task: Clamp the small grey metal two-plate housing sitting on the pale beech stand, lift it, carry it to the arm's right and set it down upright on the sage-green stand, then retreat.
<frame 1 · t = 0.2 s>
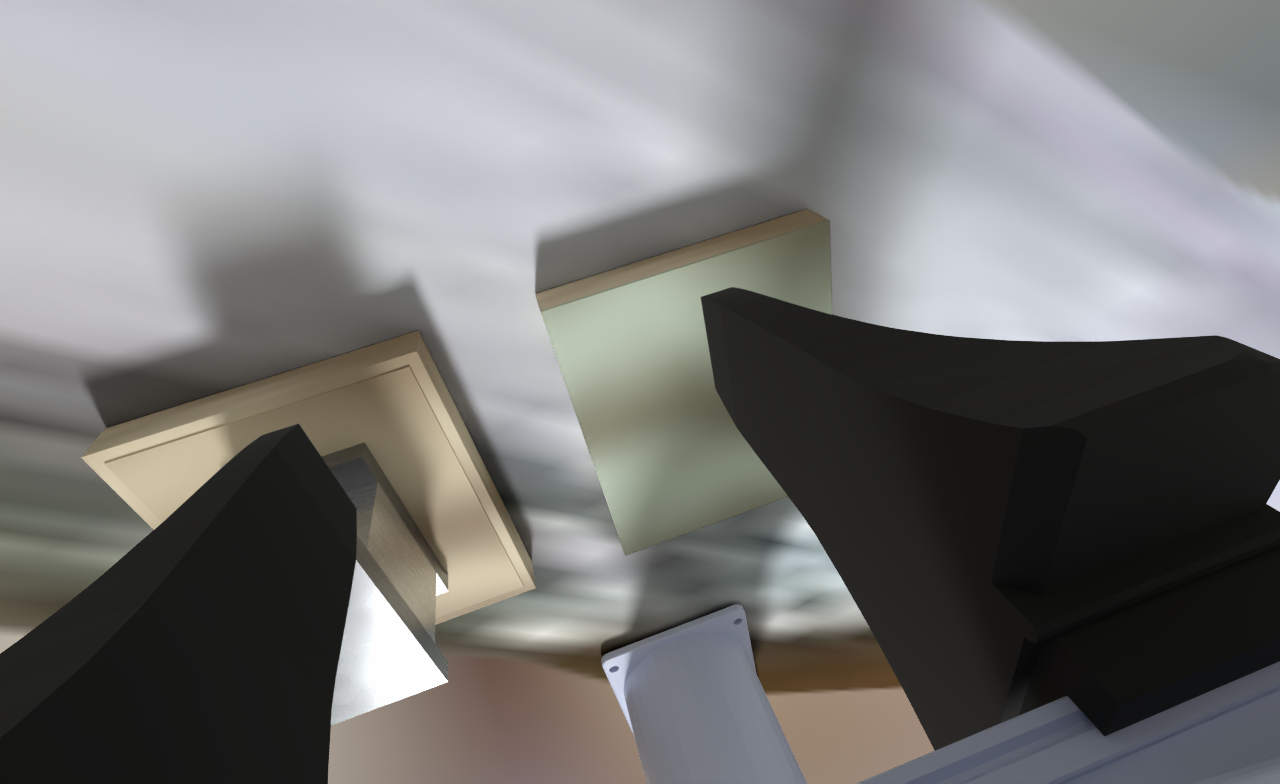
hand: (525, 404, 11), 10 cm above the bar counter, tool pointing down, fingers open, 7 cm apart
stand b: (700, 389, 24), on the bar counter
housing: (349, 535, 21), point 2 cm above the bar counter, touching stand a
stand a: (355, 506, 23), on the bar counter
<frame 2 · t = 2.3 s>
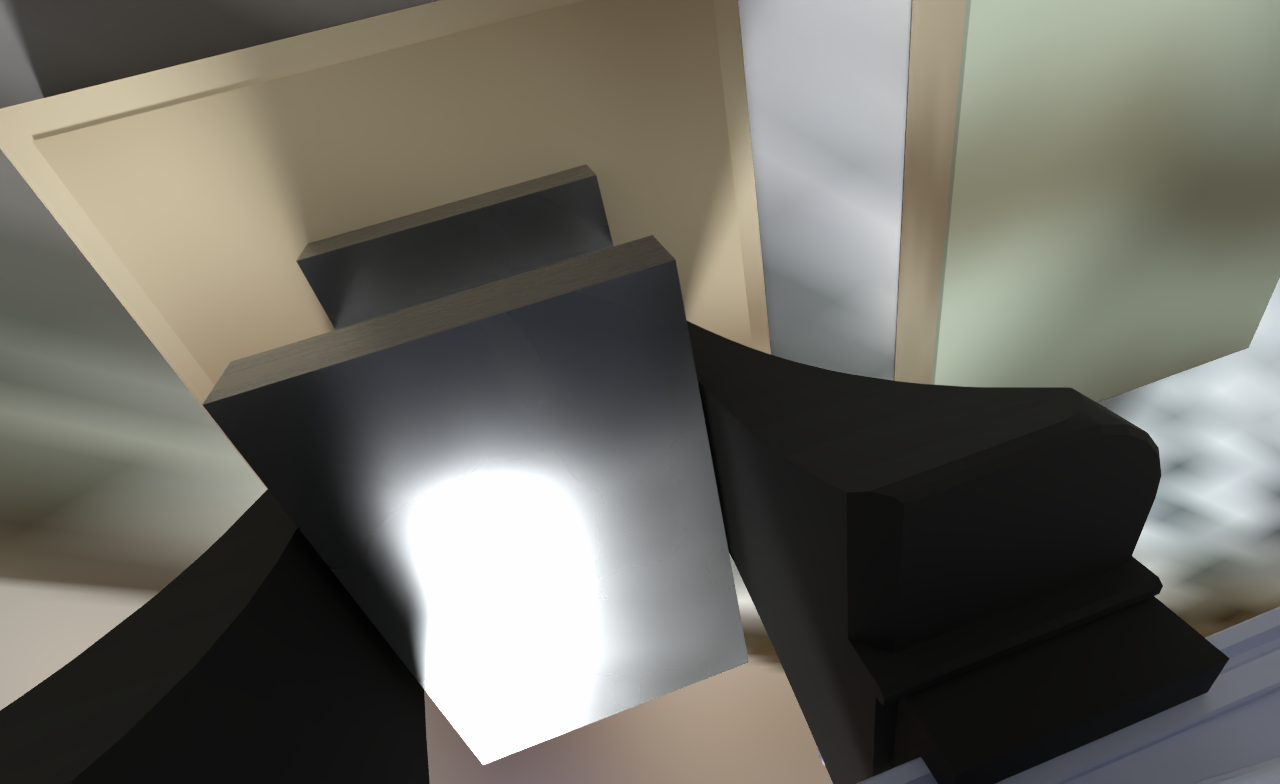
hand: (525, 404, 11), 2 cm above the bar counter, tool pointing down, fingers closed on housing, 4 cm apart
stand b: (1094, 166, 14), on the bar counter
housing: (521, 385, 11), point 2 cm above the bar counter, touching gripper, stand a
stand a: (514, 348, 12), on the bar counter
when the fingers open (3 cm above the bar counter, at t = 7.0 s): housing stays where it is, resting on stand b.
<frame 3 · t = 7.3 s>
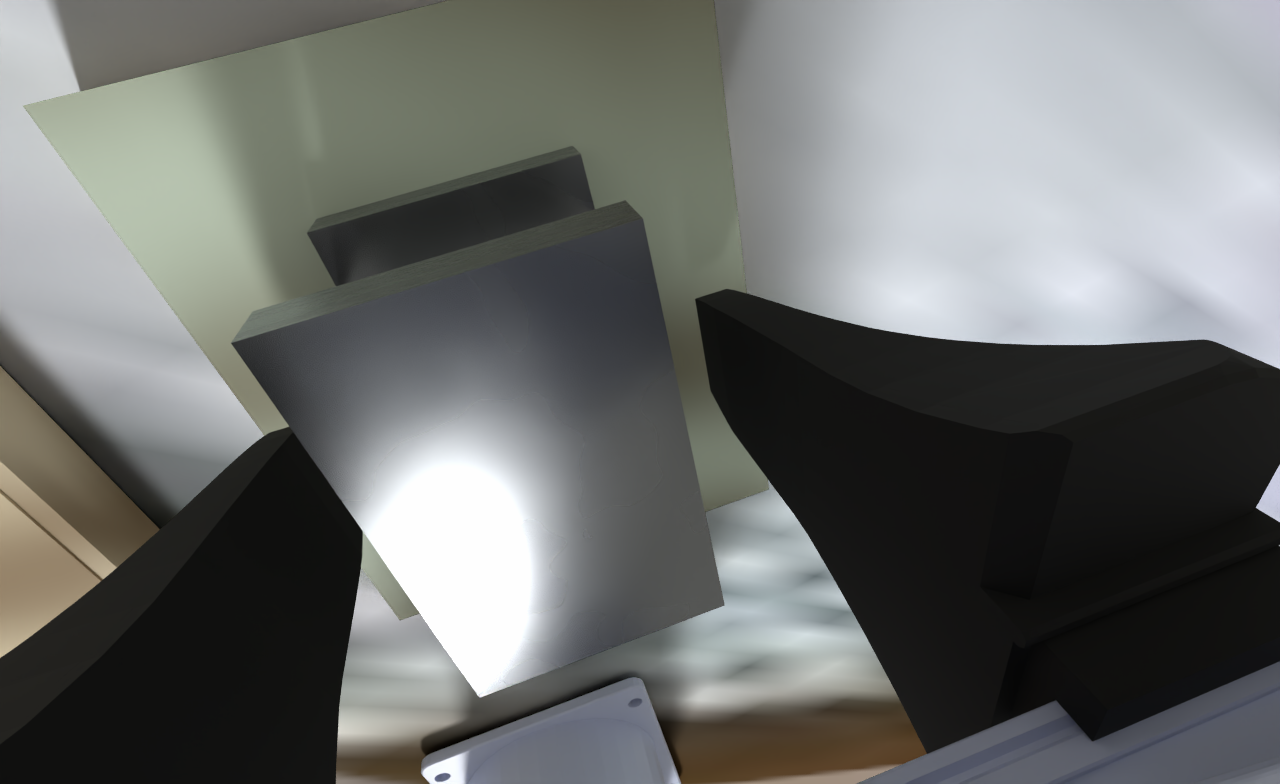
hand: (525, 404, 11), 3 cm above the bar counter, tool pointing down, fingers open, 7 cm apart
stand b: (510, 328, 13), on the bar counter
housing: (515, 355, 12), point 2 cm above the bar counter, touching stand b
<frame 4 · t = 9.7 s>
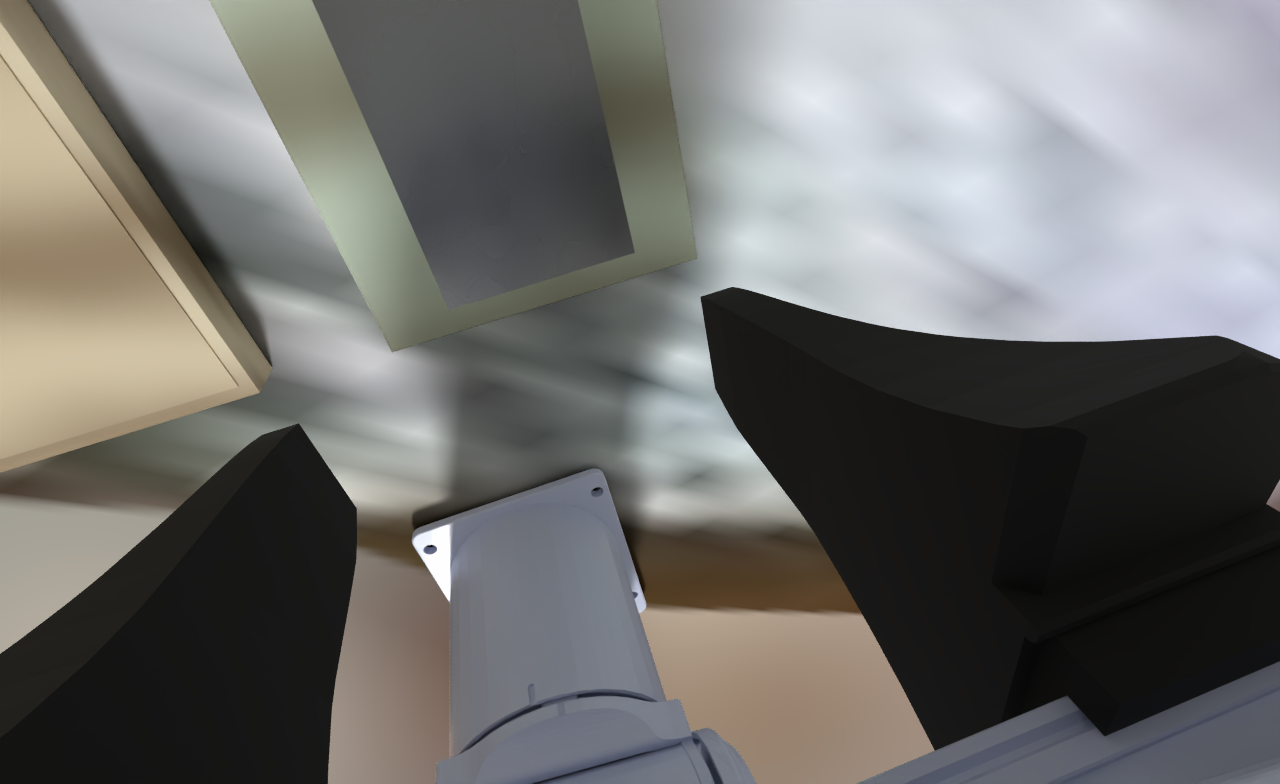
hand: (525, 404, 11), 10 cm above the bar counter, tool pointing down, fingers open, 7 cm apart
stand b: (479, 92, 17), on the bar counter
housing: (480, 93, 15), point 2 cm above the bar counter, touching stand b
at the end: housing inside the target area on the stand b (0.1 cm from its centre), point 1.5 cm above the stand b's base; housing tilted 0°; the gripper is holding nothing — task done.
